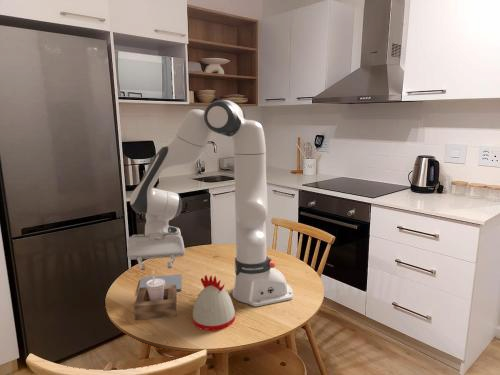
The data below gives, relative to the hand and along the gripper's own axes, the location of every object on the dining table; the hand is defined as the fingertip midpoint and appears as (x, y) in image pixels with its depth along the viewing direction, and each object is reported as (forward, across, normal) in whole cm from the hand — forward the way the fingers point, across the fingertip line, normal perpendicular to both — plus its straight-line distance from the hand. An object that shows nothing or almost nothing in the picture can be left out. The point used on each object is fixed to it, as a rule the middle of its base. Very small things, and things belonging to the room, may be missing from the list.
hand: (156, 268), depth 130 cm
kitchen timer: (+20, +19, -2) cm, 27 cm away
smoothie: (+13, 0, +5) cm, 14 cm away
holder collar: (+12, 0, +5) cm, 13 cm away
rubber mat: (0, 0, +18) cm, 18 cm away
